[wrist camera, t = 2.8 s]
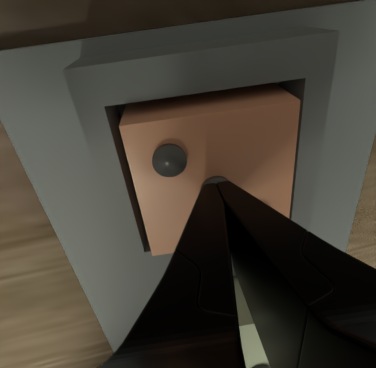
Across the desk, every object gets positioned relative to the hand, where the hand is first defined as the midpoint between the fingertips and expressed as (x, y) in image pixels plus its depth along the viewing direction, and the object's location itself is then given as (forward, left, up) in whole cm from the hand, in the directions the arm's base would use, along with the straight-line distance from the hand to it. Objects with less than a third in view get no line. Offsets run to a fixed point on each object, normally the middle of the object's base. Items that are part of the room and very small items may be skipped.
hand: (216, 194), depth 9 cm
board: (-8, 0, -3) cm, 9 cm away
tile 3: (0, 0, -2) cm, 2 cm away
